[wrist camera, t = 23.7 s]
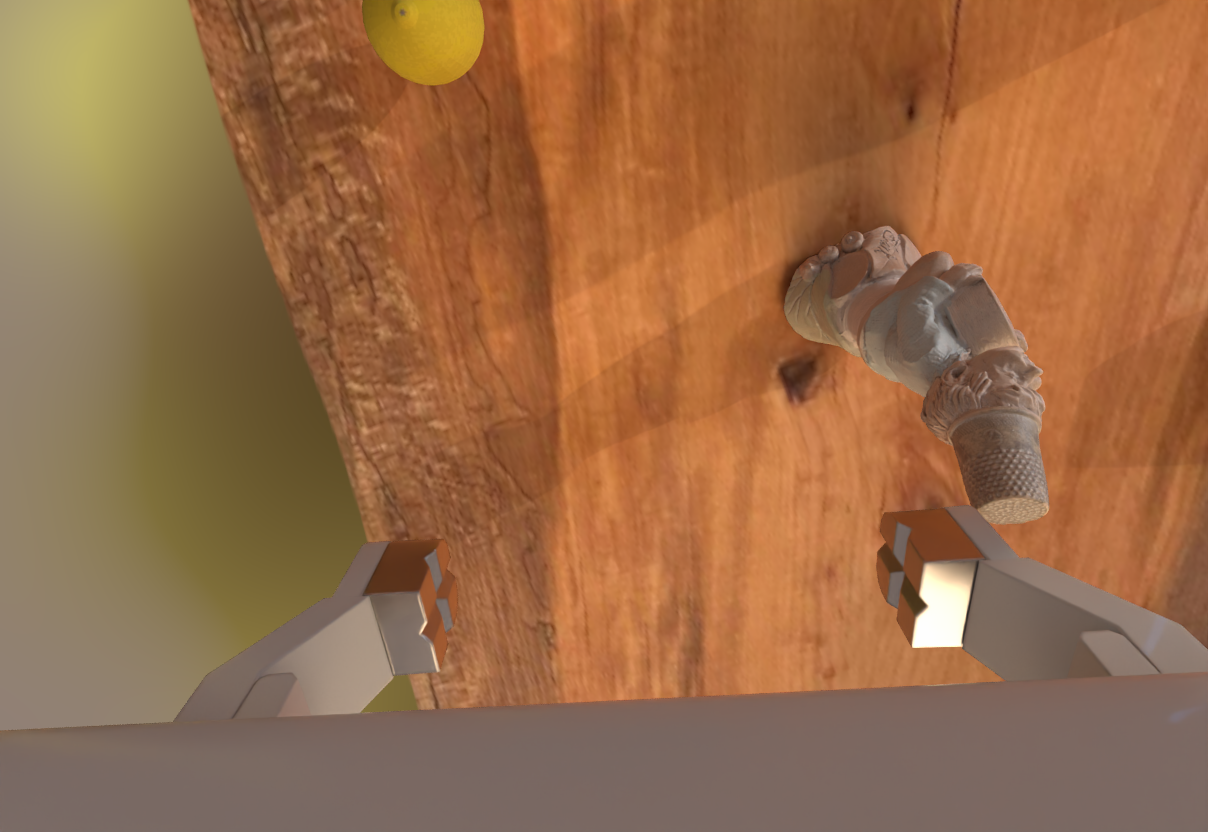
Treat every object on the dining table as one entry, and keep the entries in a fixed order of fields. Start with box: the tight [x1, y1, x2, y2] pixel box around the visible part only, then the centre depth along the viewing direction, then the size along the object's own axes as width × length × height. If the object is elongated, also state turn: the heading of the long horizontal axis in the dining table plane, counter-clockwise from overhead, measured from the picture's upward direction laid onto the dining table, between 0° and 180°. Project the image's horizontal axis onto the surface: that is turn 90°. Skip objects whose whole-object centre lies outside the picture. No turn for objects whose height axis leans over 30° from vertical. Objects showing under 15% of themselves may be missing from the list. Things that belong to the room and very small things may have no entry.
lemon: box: [362, 0, 484, 86], centre depth 32 cm, size 6×6×8 cm
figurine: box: [784, 226, 1049, 525], centre depth 33 cm, size 9×8×20 cm
